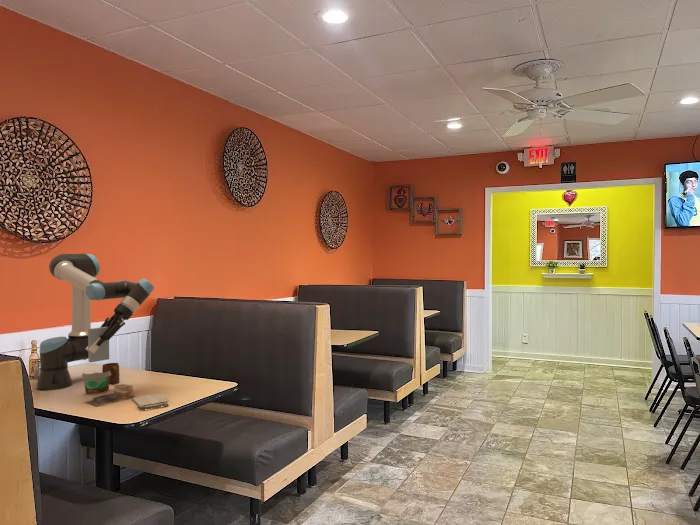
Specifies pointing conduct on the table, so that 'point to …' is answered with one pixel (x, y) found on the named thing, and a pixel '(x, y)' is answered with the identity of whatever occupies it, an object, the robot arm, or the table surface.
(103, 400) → the brown rectangular board
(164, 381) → the table surface
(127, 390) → the offcut stack
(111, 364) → the mug
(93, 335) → the tall panel
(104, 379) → the food container
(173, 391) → the table surface
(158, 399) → the washcloth
